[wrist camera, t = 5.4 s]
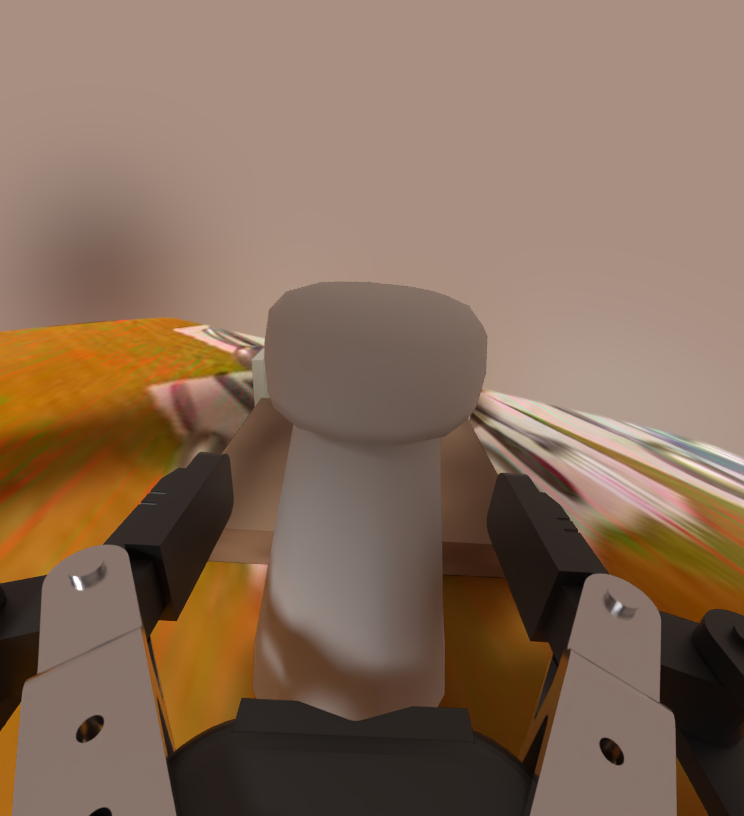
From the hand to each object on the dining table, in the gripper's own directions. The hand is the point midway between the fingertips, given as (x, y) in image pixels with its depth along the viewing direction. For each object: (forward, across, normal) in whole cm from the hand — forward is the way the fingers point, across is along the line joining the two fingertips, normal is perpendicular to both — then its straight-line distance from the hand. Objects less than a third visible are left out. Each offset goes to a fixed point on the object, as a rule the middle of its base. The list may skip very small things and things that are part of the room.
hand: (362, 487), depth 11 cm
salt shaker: (-2, 0, +7) cm, 7 cm away
